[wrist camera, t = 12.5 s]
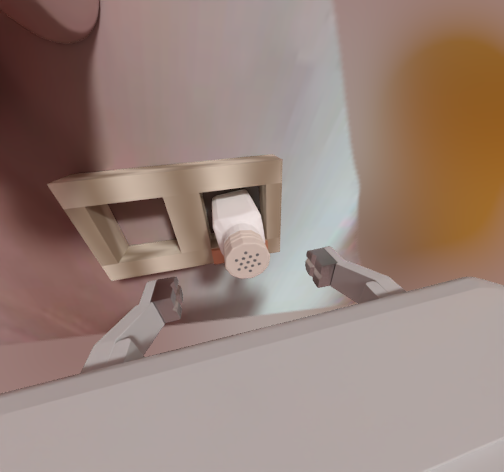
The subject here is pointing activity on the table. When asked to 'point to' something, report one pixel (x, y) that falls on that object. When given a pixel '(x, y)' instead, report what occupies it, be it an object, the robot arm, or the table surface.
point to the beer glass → (54, 17)
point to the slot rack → (178, 206)
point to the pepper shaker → (240, 234)
